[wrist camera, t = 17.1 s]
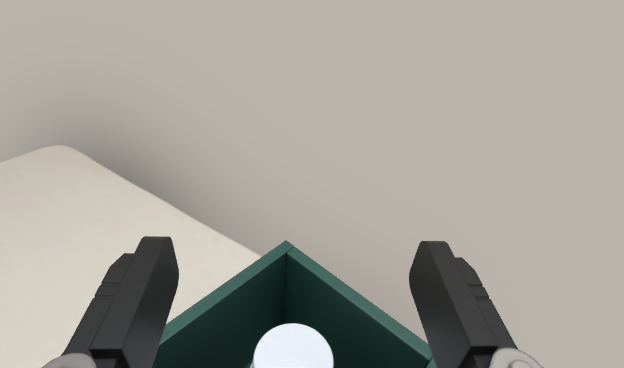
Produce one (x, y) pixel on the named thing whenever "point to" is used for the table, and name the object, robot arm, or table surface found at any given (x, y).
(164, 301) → the robot arm
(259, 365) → the pill bottle
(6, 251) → the table surface
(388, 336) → the open green box
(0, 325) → the table surface
